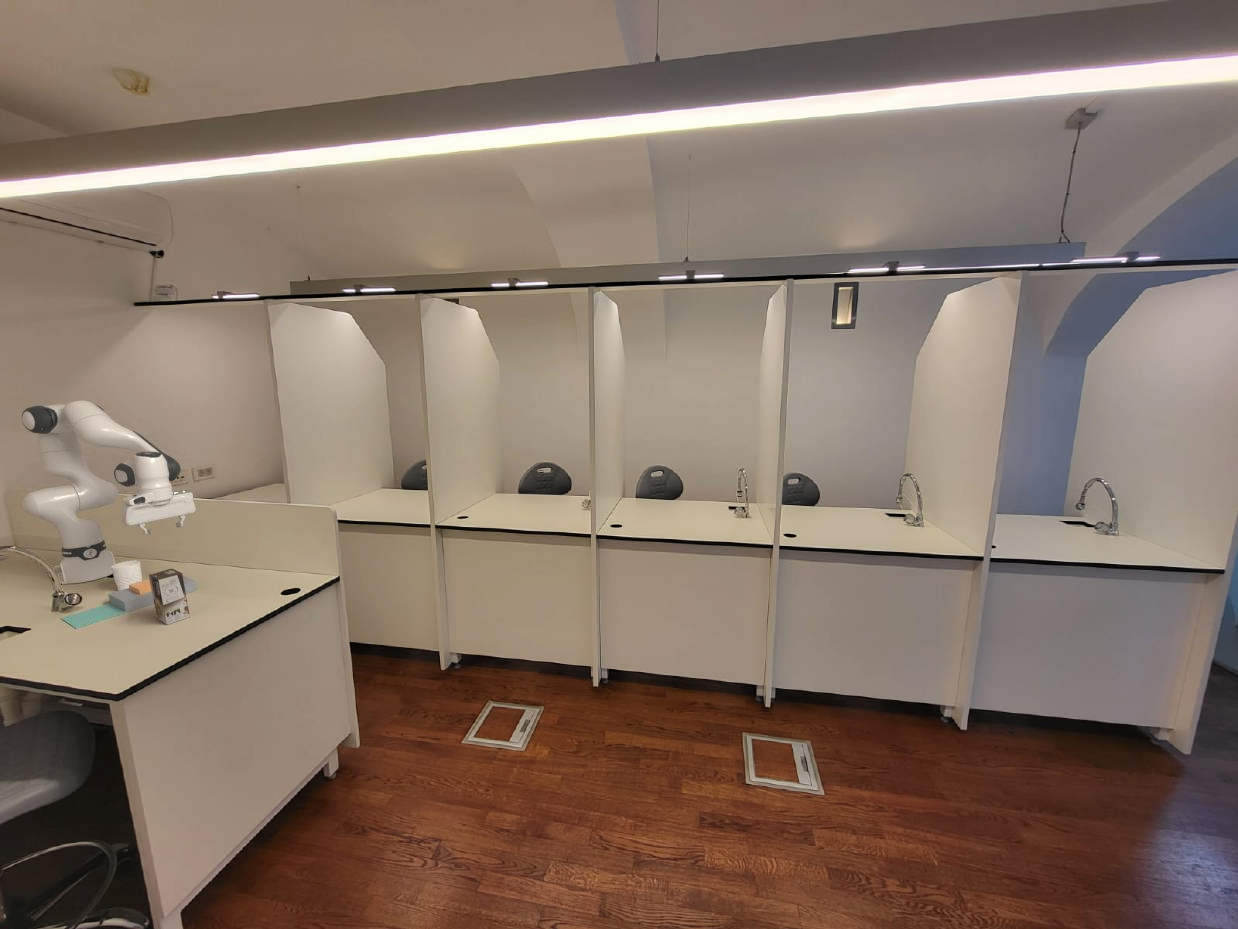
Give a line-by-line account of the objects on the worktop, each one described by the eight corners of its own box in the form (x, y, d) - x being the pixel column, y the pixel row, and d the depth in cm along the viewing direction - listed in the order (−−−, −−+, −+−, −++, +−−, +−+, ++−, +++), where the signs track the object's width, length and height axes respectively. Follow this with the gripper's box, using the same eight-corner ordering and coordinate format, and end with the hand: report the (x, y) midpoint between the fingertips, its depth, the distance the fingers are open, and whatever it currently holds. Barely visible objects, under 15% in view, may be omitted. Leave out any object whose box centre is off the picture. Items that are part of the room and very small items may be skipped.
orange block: (129, 589, 174) (128, 584, 174) (151, 583, 180) (150, 578, 179) (140, 594, 170) (139, 589, 170) (161, 588, 175) (160, 583, 175)
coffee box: (191, 617, 162) (183, 573, 159) (166, 625, 157) (157, 580, 154) (180, 610, 167) (172, 567, 164) (156, 618, 161) (147, 574, 159)
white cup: (114, 594, 179) (109, 569, 178) (118, 587, 185) (112, 563, 184) (143, 588, 184) (138, 564, 182) (146, 582, 190) (141, 558, 188)
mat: (61, 619, 161) (61, 618, 161) (110, 604, 172) (110, 603, 172) (76, 628, 155) (76, 627, 155) (126, 612, 165) (126, 611, 165)
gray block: (110, 604, 172) (108, 593, 171) (180, 583, 189) (178, 573, 189) (126, 612, 165) (124, 602, 165) (196, 590, 183) (195, 580, 182)
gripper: (187, 488, 187) (194, 522, 189) (116, 500, 169) (124, 537, 171) (195, 489, 184) (201, 523, 186) (123, 502, 166) (131, 539, 169)
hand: (164, 530), depth 179 cm, fingers open, 8 cm apart
